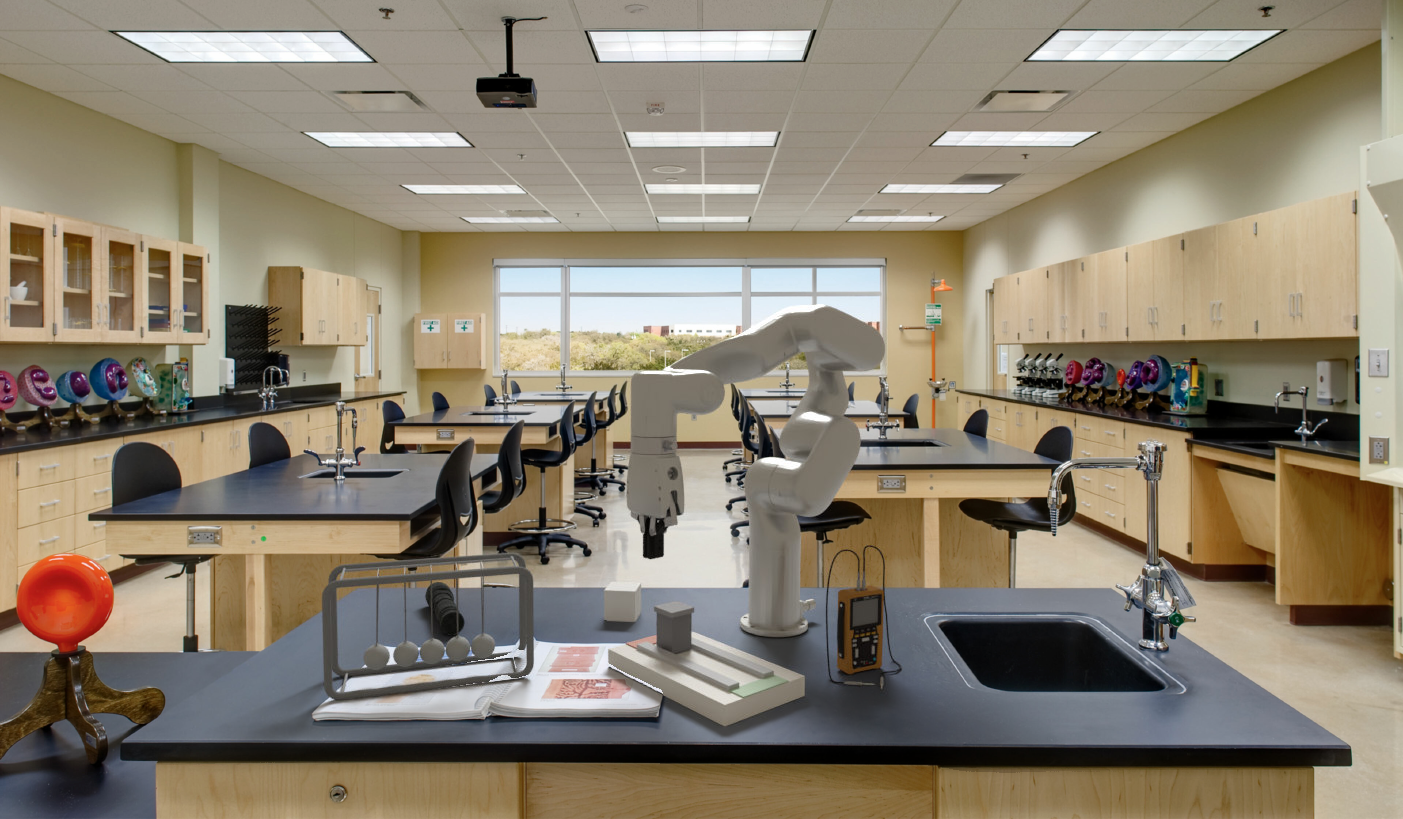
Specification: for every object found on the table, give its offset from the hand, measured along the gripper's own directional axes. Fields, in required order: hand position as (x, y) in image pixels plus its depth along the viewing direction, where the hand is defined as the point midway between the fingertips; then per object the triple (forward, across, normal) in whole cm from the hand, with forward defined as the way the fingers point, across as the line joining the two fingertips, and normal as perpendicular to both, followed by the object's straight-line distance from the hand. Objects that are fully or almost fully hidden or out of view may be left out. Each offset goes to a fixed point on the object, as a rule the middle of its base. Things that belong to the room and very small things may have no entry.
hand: (653, 557), depth 137 cm
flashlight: (+18, +42, +16) cm, 49 cm away
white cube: (+17, +21, -10) cm, 29 cm away
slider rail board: (+17, -12, 0) cm, 21 cm away
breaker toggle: (+14, -5, 0) cm, 15 cm away
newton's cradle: (+17, +17, +31) cm, 39 cm away
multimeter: (+17, -29, -21) cm, 40 cm away
